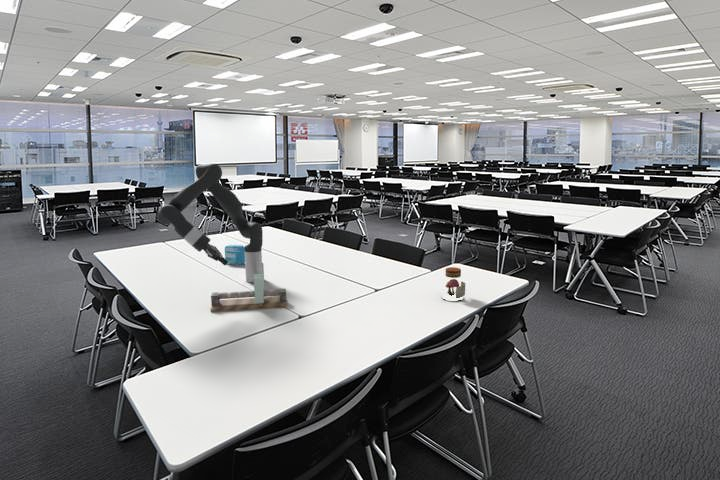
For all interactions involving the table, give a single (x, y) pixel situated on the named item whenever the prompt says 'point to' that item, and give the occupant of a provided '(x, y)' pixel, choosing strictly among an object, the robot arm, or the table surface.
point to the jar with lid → (455, 282)
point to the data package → (235, 254)
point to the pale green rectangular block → (259, 288)
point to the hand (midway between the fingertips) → (226, 263)
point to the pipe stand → (247, 300)
